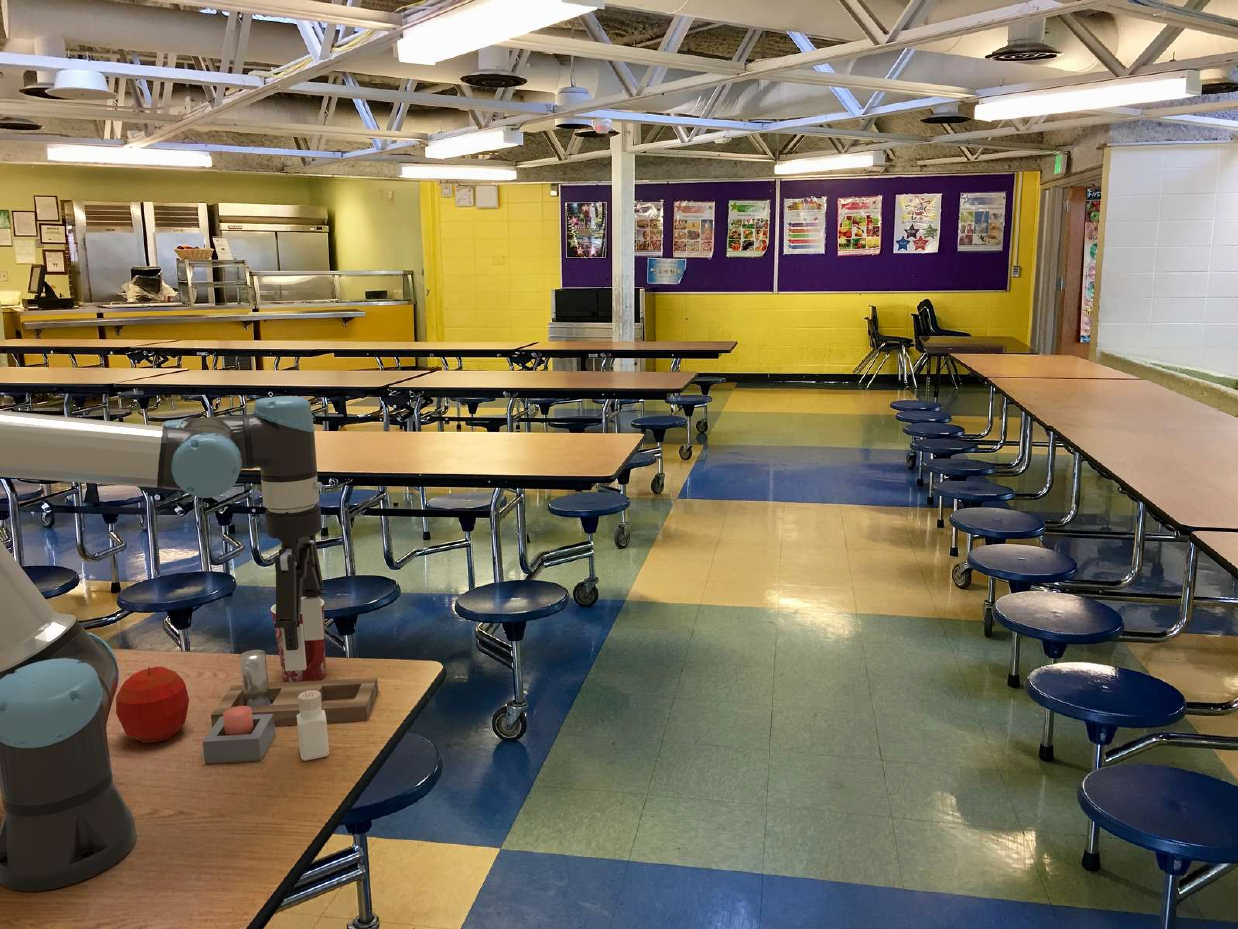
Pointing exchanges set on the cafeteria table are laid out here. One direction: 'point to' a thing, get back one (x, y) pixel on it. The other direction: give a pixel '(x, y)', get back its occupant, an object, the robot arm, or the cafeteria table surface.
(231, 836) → the cafeteria table surface
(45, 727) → the robot arm
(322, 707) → the board
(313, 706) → the pepper shaker
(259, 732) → the button housing
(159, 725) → the apple
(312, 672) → the mug
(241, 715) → the button
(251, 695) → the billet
